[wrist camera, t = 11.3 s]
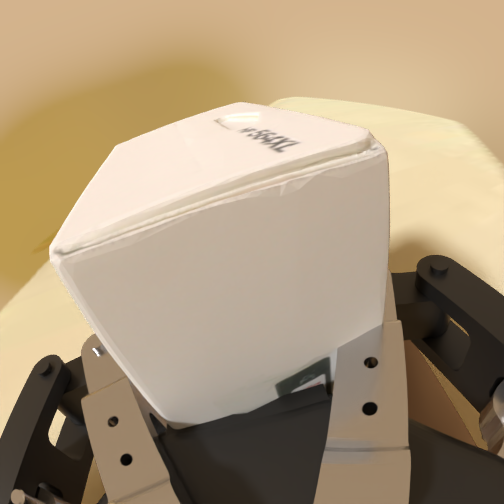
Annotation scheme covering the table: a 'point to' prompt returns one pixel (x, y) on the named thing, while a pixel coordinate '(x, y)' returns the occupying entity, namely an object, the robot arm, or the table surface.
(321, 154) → the ink box
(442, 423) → the walnut board
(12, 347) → the table surface
